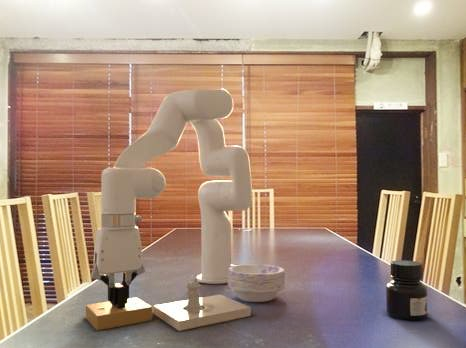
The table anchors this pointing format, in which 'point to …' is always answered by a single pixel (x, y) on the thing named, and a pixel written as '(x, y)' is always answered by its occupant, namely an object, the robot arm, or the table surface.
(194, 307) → the rook chess piece
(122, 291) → the black battery pack
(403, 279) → the ink bottle
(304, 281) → the table surface
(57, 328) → the table surface
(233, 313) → the white socket plate
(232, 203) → the robot arm
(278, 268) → the paper bowls
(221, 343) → the table surface
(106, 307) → the orange dial base
